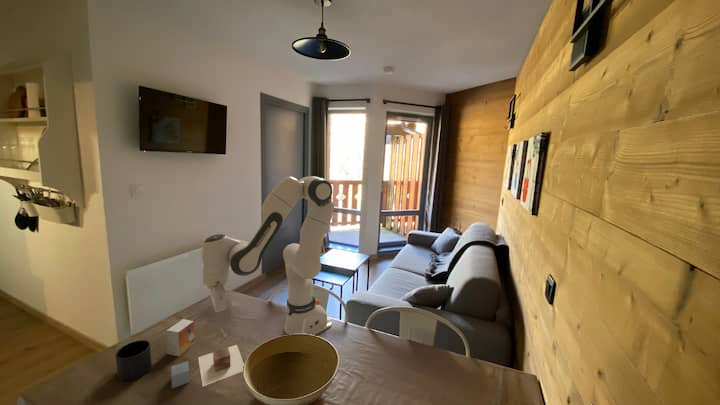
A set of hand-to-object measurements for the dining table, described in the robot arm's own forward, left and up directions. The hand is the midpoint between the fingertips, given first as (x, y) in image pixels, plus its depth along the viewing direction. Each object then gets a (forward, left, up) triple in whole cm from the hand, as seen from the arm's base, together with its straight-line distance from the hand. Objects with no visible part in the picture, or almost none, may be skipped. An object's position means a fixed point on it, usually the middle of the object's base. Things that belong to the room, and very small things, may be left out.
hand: (217, 310), depth 105 cm
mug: (+27, -6, -19) cm, 33 cm away
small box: (+12, -10, -19) cm, 25 cm away
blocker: (0, +8, -18) cm, 20 cm away
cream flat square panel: (0, +7, -19) cm, 20 cm away
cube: (+13, +8, -19) cm, 24 cm away
